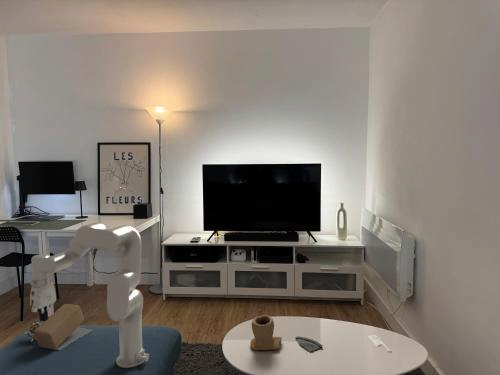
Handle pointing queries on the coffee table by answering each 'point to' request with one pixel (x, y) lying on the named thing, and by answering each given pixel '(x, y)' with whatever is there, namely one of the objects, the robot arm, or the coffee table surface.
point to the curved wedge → (308, 344)
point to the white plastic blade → (378, 342)
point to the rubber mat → (74, 337)
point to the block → (59, 326)
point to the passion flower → (33, 327)
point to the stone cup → (264, 334)
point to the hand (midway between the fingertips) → (43, 320)
